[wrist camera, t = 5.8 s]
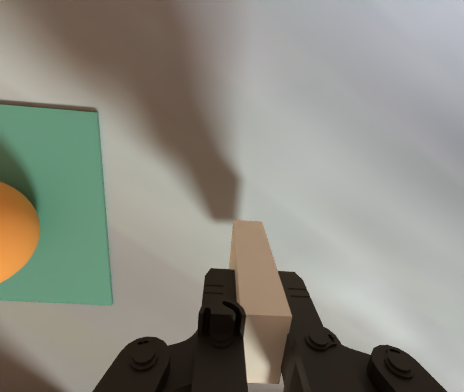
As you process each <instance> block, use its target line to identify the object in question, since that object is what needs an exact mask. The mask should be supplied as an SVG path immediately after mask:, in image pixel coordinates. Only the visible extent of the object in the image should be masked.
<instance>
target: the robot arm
mask: <svg viewBox="0 0 464 392" xmlns="http://www.w3.org/2000/svg"><path fill="white" fill-rule="evenodd" d="M281 372H282V377H283V381H284V391H283V392H447V391H446V390H445V389H444V388H443V387H442V386H441V385H440V384H439V383H438V382H437V381H436V380H435V379H434V378H433V377H432V376H431V375H430V374H429V373H428V372H427V371H426V370H425V369H424V368H423V367H422V366H421V365H420V364H419V363H418V362H417V361H416V360H415V359H414V358H412V357H411V356H410V355H409V354H407V353H406V352H404V351H402V350H400V349H398V348H396V347H392V346H389V345H379V346H377V347H375V348H374V349H373V351H372V353H371V355H369V354H366V353H363V352H360V351H356V350H353V349H350V348H348V347H345V346H343V345H341V343H340V341H339V340H338V338H337V337H336V335H335V334H333V333H332V332H331V331H330V330H329V329H327V328H325V327H323V324H322V322H321V320H320V318H319V316H318V313H317V311H316V309H315V307H314V304H313V302H312V300H311V298H310V295H309V293H308V291H307V289H306V286H305V284H304V282H303V280H302V279H301V278H300V277H299V276H298V275H297V274H296V273H295V272H285V271H277V267H276V264H275V261H274V258H273V255H272V252H271V249H270V245H269V242H268V239H267V236H266V233H265V230H264V227H263V223H262V222H258V221H243V220H233V230H232V241H231V252H230V262H229V269H214V268H211V269H210V270H209V271H208V273H207V274H206V275H205V281H204V290H203V299H202V307H201V309H200V311H199V317H198V329H197V331H196V333H195V334H194V335H193V336H192V337H190V338H189V339H187V340H185V341H183V342H180V343H177V344H173V345H169V346H167V344H166V343H165V342H164V341H163V340H161V339H159V338H156V337H143V338H139V339H136V340H134V341H133V342H131V343H129V344H128V345H127V346H126V347H125V348H124V349H123V350H122V351H121V352H120V353H119V355H118V356H117V358H116V359H115V360H114V362H113V363H112V365H111V366H110V368H109V369H108V370H107V372H106V373H105V375H104V376H103V377H102V379H101V380H100V382H99V383H98V385H97V386H96V387H95V389H94V390H93V392H248V386H247V383H272V384H279V382H280V376H281Z"/></svg>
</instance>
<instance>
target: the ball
mask: <svg viewBox="0 0 464 392" xmlns="http://www.w3.org/2000/svg"><path fill="white" fill-rule="evenodd" d="M39 237H40V221H39V217H38V215H37V212H36V210H35V208H34V207H33V205H32V203H31V202H30V201H29V200H28V199H27V198H26V197H25V196H24V195H23V194H22V193H21V192H19V191H18V190H16V189H15V188H13V187H11V186H9V185H7V184H5V183H3V182H0V283H1V282H3V281H5V280H6V279H8V278H10V277H11V276H12V275H14V274H15V273H16V272H18V271H19V270H20V269H21V268H22V267H23V266H24V265H25V264H26V263H27V262H28V260H29V259H30V258H31V256H32V255H33V253H34V251H35V249H36V247H37V244H38V241H39Z"/></svg>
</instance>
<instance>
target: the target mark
mask: <svg viewBox="0 0 464 392" xmlns="http://www.w3.org/2000/svg"><path fill="white" fill-rule="evenodd" d="M0 182H3V183H5V184H7V185H9V186H11V187H13V188H15V189H16V190H18V191H19V192H21V193H22V194H23V195H24V196H25V197H26V198H27V199H28V200H29V201H30V202H31V203H32V205H33V207H34V208H35V210H36V212H37V215H38V217H39V221H40V237H39V241H38V244H37V247H36V249H35V251H34V253H33V255H32V256H31V258H30V259H29V260H28V262H27V263H26V264H25V265H24V266H23V267H22V268H21V269H20V270H19V271H18V272H16V273H15V274H14V275H12V276H11V277H10V278H8V279H6V280H5V281H3V282H1V283H0V300H2V301H24V302H46V303H68V304H90V305H111V306H112V304H113V298H112V285H111V272H110V259H109V247H108V234H107V221H106V208H105V195H104V182H103V169H102V156H101V143H100V130H99V118H98V112H88V111H76V110H64V109H52V108H40V107H27V106H15V105H3V104H0Z"/></svg>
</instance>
